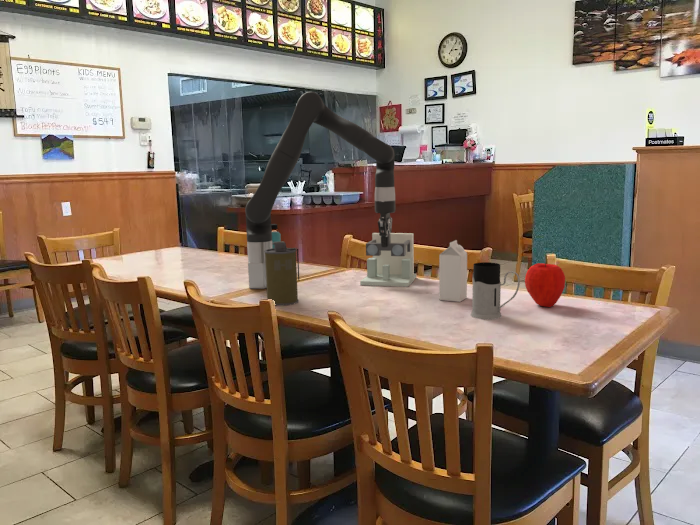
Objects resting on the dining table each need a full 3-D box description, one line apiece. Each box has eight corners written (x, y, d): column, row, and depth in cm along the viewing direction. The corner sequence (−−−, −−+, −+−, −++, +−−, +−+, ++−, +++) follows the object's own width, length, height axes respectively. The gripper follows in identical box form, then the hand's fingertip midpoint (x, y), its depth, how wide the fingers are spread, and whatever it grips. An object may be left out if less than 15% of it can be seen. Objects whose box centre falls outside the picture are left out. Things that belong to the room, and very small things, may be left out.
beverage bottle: (281, 270, 247) (279, 224, 243) (266, 270, 247) (264, 224, 244) (283, 267, 253) (281, 223, 250) (268, 268, 253) (266, 223, 250)
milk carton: (439, 300, 185) (439, 242, 182) (446, 295, 191) (446, 239, 188) (460, 302, 182) (460, 243, 178) (466, 297, 188) (467, 240, 185)
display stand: (408, 286, 207) (407, 239, 204) (360, 285, 212) (359, 238, 209) (416, 277, 223) (416, 233, 221) (371, 276, 229) (370, 232, 226)
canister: (269, 306, 182) (266, 244, 178) (264, 299, 192) (261, 241, 188) (302, 303, 185) (300, 242, 181) (296, 297, 195) (294, 239, 191)
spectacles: (404, 256, 208) (404, 234, 207) (365, 255, 212) (365, 234, 211) (410, 251, 219) (410, 230, 218) (373, 250, 223) (373, 230, 222)
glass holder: (479, 310, 171) (479, 261, 169) (524, 317, 162) (526, 265, 160) (465, 316, 165) (465, 265, 162) (512, 323, 156) (513, 270, 153)
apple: (516, 303, 178) (517, 261, 176) (546, 299, 182) (548, 258, 180) (541, 312, 167) (542, 267, 165) (573, 307, 171) (574, 264, 169)
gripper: (379, 198, 216) (380, 243, 219) (370, 200, 203) (371, 248, 205) (398, 198, 214) (399, 244, 217) (390, 200, 200) (391, 249, 203)
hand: (385, 246), depth 211 cm, fingers closed on spectacles, 3 cm apart
